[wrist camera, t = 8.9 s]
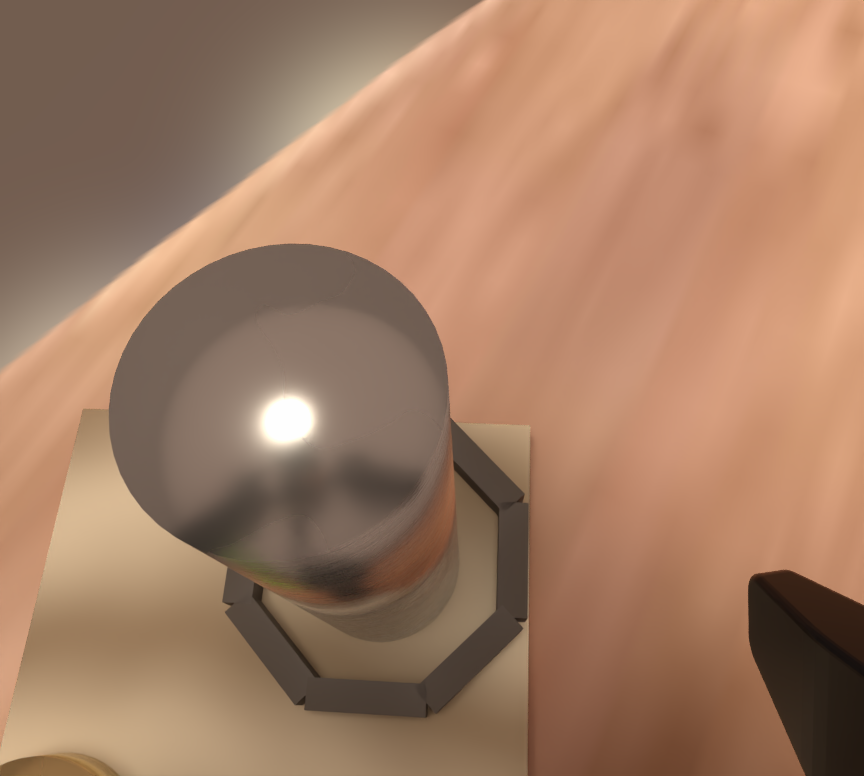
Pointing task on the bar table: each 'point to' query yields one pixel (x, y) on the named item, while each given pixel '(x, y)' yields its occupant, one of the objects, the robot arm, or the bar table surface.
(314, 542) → the steel peg
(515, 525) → the birch board
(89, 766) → the brass bushing
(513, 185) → the bar table surface
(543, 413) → the bar table surface
